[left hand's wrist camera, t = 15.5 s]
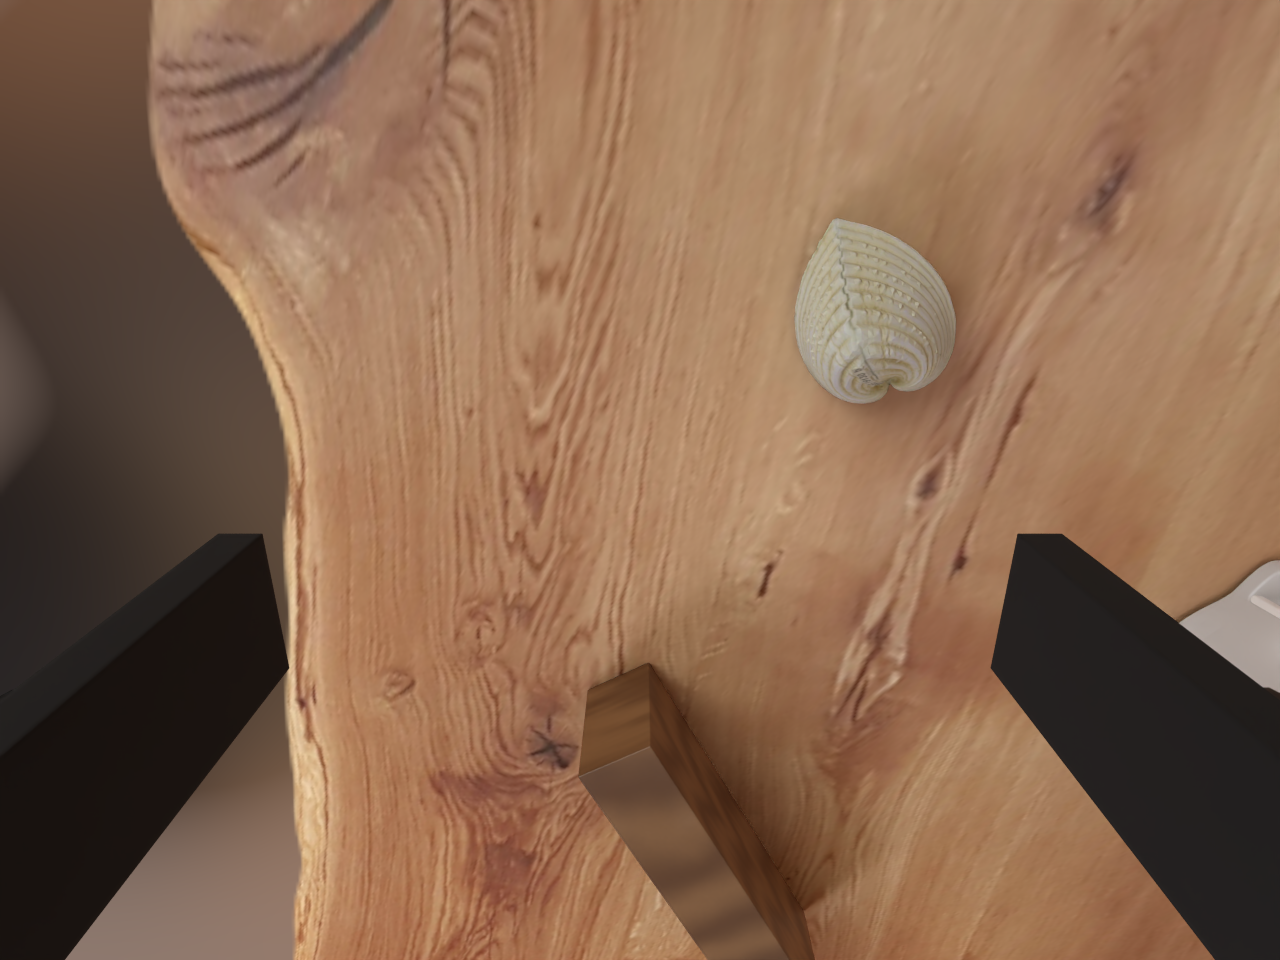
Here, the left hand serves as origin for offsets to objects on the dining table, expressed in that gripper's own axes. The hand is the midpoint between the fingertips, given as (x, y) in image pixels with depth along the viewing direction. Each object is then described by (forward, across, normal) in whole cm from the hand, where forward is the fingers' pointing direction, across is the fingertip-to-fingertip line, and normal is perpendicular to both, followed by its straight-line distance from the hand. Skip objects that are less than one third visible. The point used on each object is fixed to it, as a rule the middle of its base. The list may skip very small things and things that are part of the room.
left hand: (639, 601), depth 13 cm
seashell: (+30, +12, +1) cm, 32 cm away
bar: (+30, +5, -34) cm, 46 cm away
